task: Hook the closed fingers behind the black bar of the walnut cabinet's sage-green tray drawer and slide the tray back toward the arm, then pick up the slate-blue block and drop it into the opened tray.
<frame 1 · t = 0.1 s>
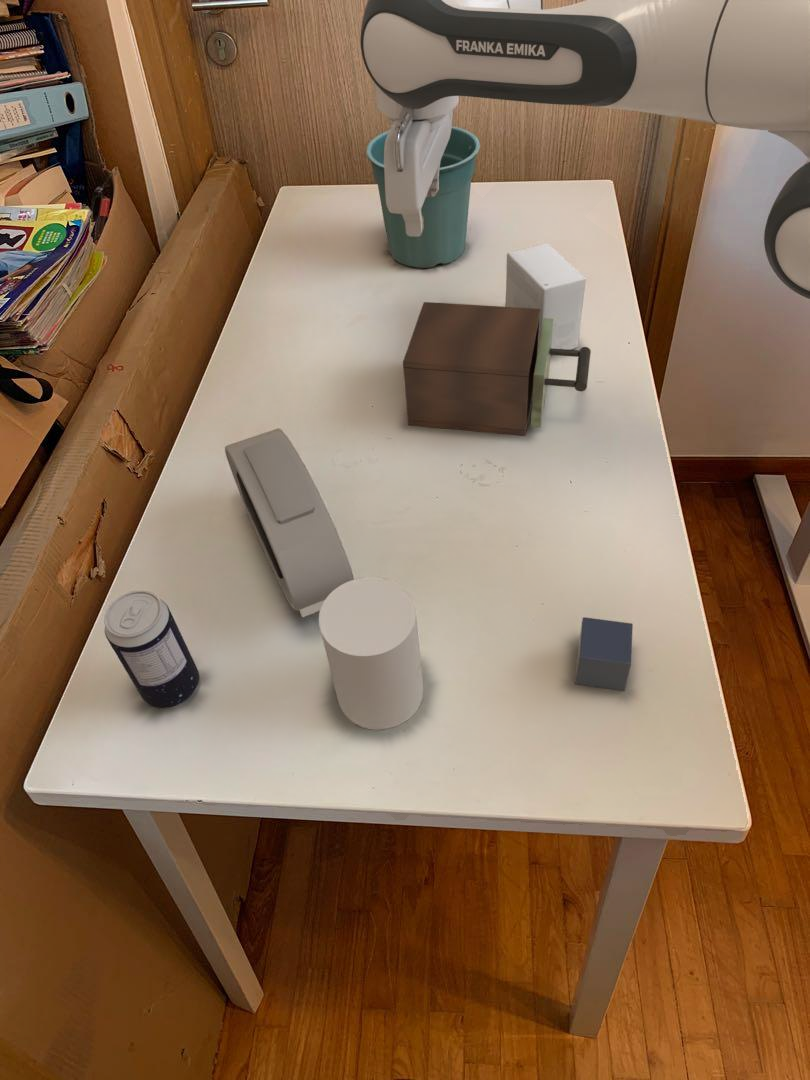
hand: (423, 213, 96), 20 cm above the table, tool pointing down, fingers open, 8 cm apart
cosmetics box: (540, 335, 113), on the table
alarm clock: (296, 556, 89), on the table
cabinet: (473, 398, 105), on the table
white solid cylinder: (380, 691, 77), on the table
flower pot: (427, 250, 130), on the table
beverage can: (172, 688, 79), on the table
block: (600, 667, 77), on the table
drawer: (511, 370, 100), point 5 cm above the table, slide at 0.5 cm
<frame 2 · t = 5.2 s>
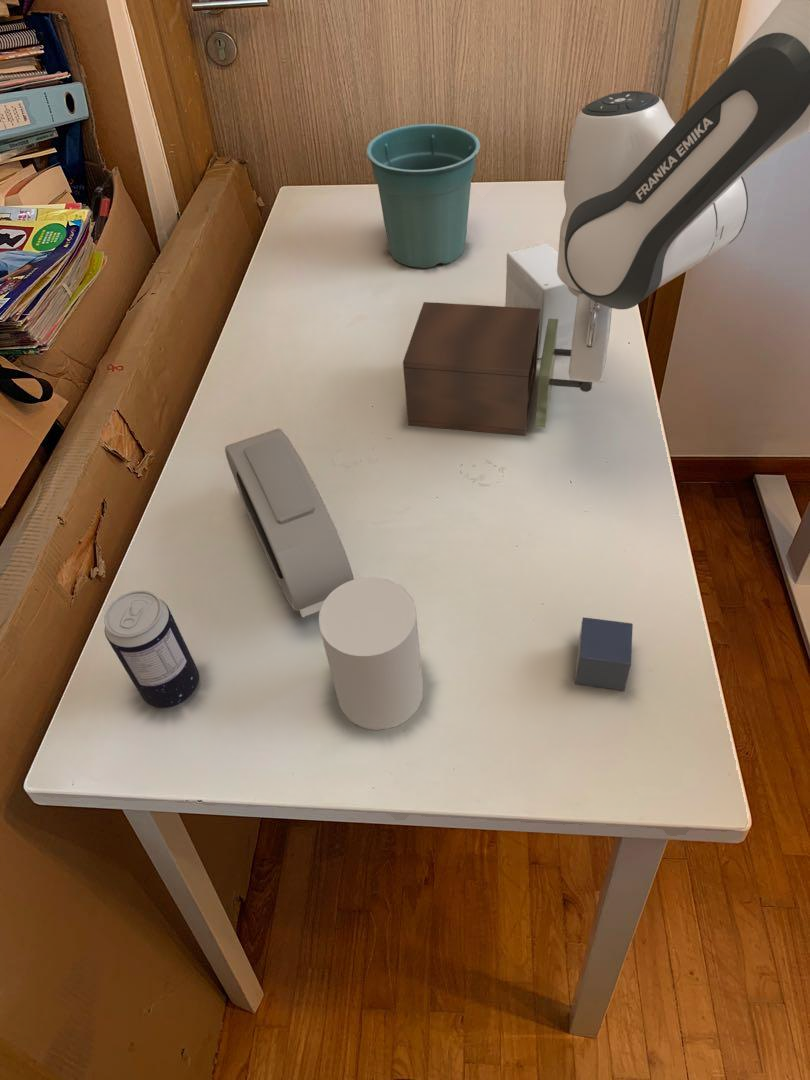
hand: (586, 364, 97), 6 cm above the table, tool pointing down, fingers closed, pressing on drawer
drawer: (516, 370, 100), point 5 cm above the table, slide at 1.1 cm, touching gripper
everything else where it was.
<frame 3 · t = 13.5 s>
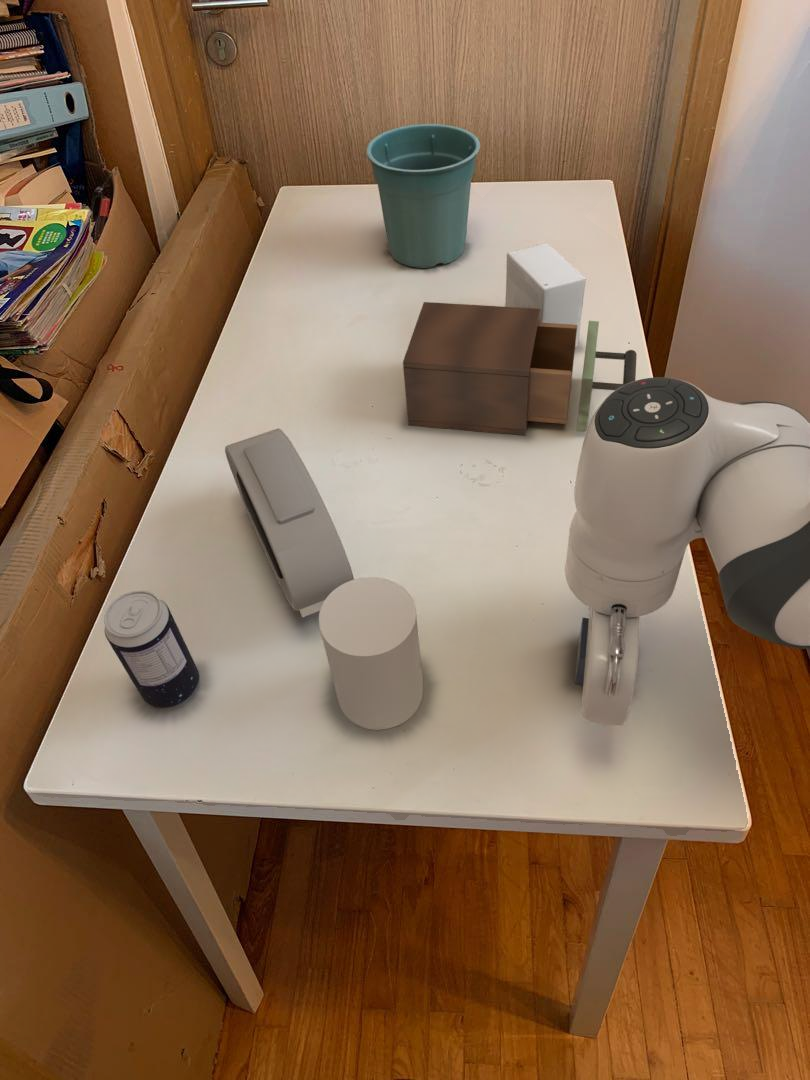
hand: (602, 657, 76), 2 cm above the table, tool pointing down, fingers closed on block, 4 cm apart
block: (600, 667, 77), on the table, touching gripper
drawer: (556, 373, 99), point 5 cm above the table, slide at 5.9 cm
everything else where it was.
when the fingers open (10 cm above the table, at t = 20.7 s): block drops 6 cm, resting on drawer.
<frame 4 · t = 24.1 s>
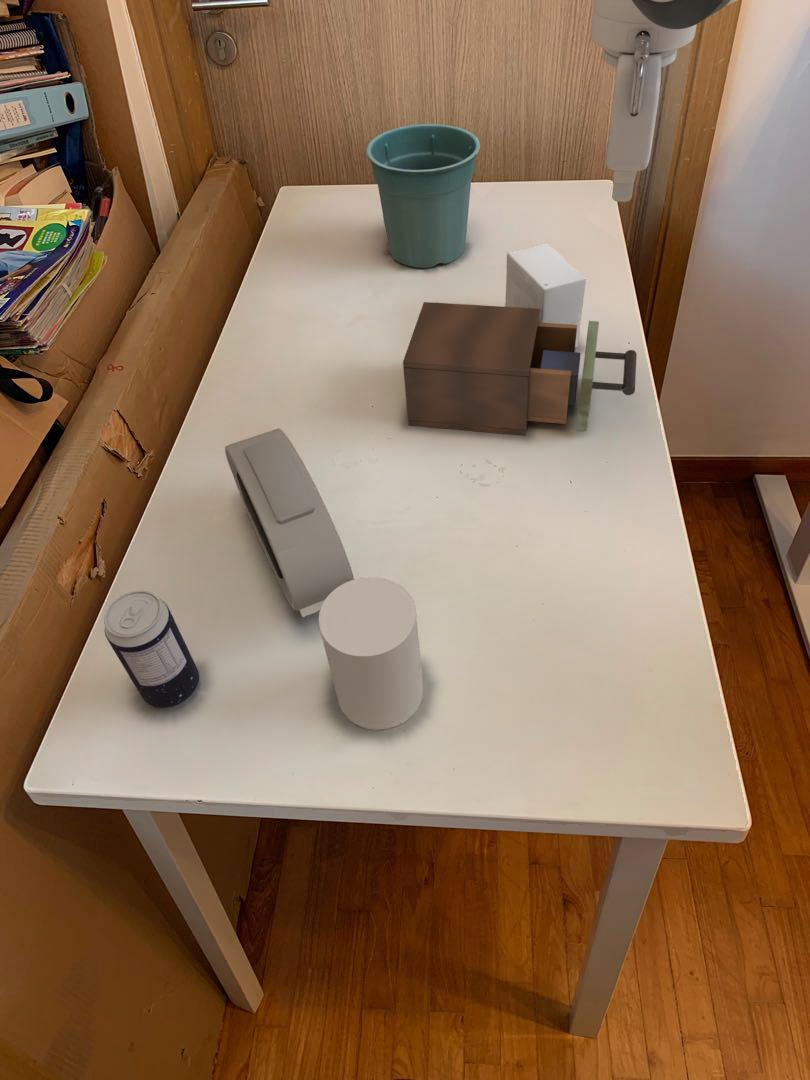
hand: (623, 175, 80), 29 cm above the table, tool pointing down, fingers open, 8 cm apart
block: (557, 392, 101), point 2 cm above the table, touching drawer
drawer: (556, 373, 99), point 5 cm above the table, slide at 5.9 cm, touching block
everything else where it was.
at the end: drawer slide at 5.9 cm; block inside the target area in the drawer (0.5 cm from its centre), point 2.0 cm above the cabinet's base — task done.
